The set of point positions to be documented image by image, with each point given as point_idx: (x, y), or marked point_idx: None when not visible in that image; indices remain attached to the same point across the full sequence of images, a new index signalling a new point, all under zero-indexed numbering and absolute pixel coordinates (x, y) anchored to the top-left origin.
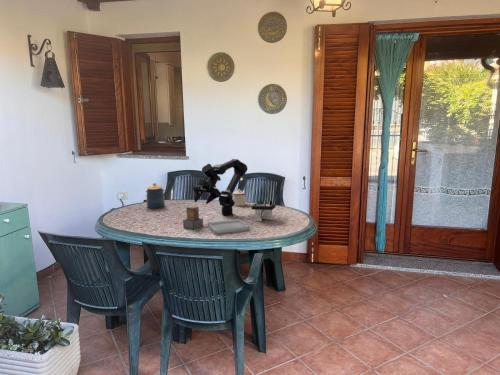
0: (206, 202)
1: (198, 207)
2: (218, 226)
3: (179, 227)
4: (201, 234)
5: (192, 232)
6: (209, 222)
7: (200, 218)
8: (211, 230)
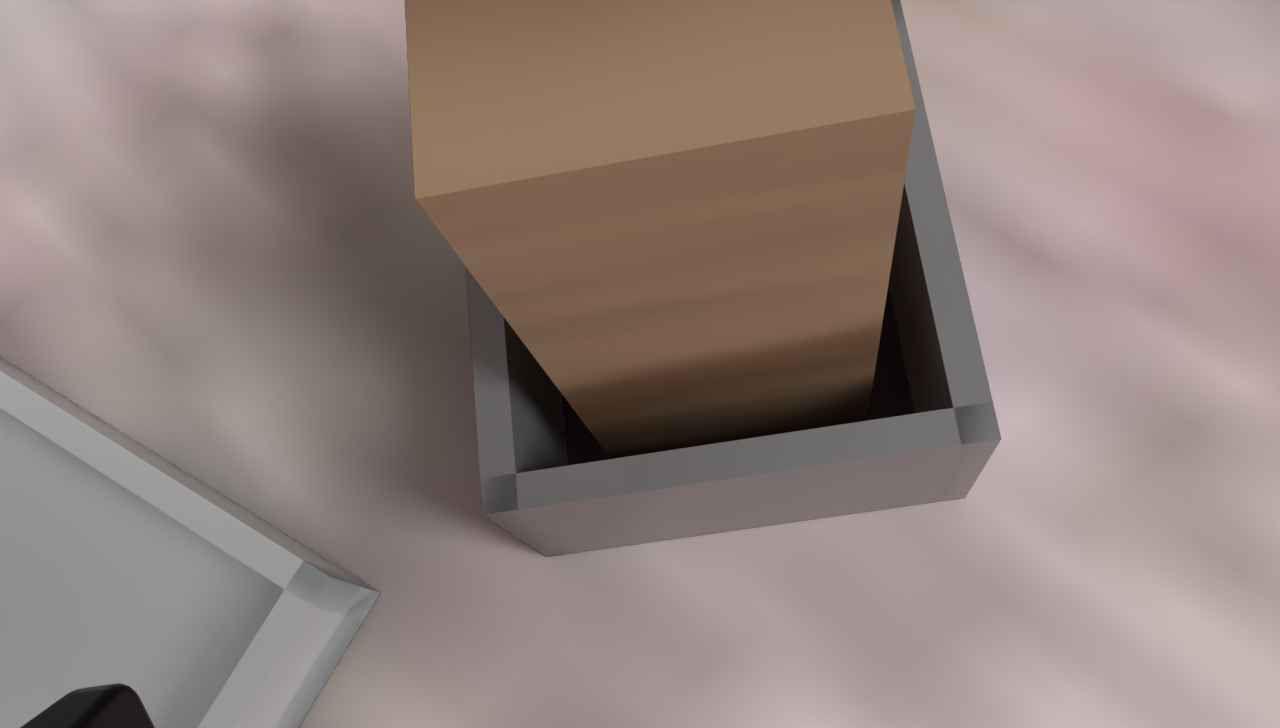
0: (62, 706)
1: (433, 215)
2: (9, 685)
3: (961, 57)
4: (101, 82)
5: (365, 38)
6: (292, 625)
7: (571, 477)
8: (65, 398)
